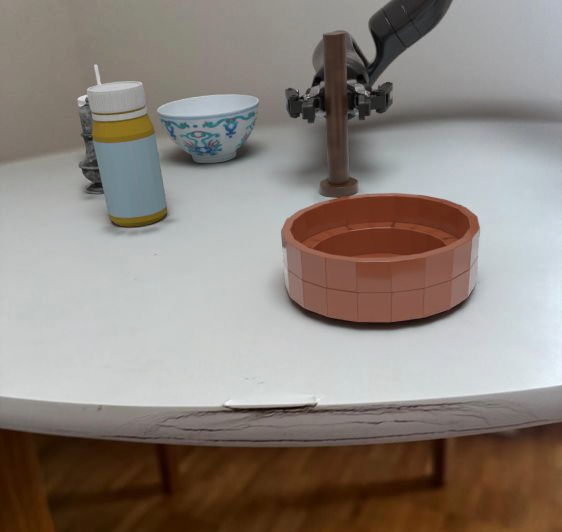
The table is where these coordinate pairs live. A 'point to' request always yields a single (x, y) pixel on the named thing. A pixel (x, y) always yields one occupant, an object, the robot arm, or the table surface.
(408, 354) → the table surface
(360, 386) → the table surface
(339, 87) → the stirring stick
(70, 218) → the table surface
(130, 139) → the bottle
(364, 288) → the bowl
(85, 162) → the grey tall piece
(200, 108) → the chinaware
